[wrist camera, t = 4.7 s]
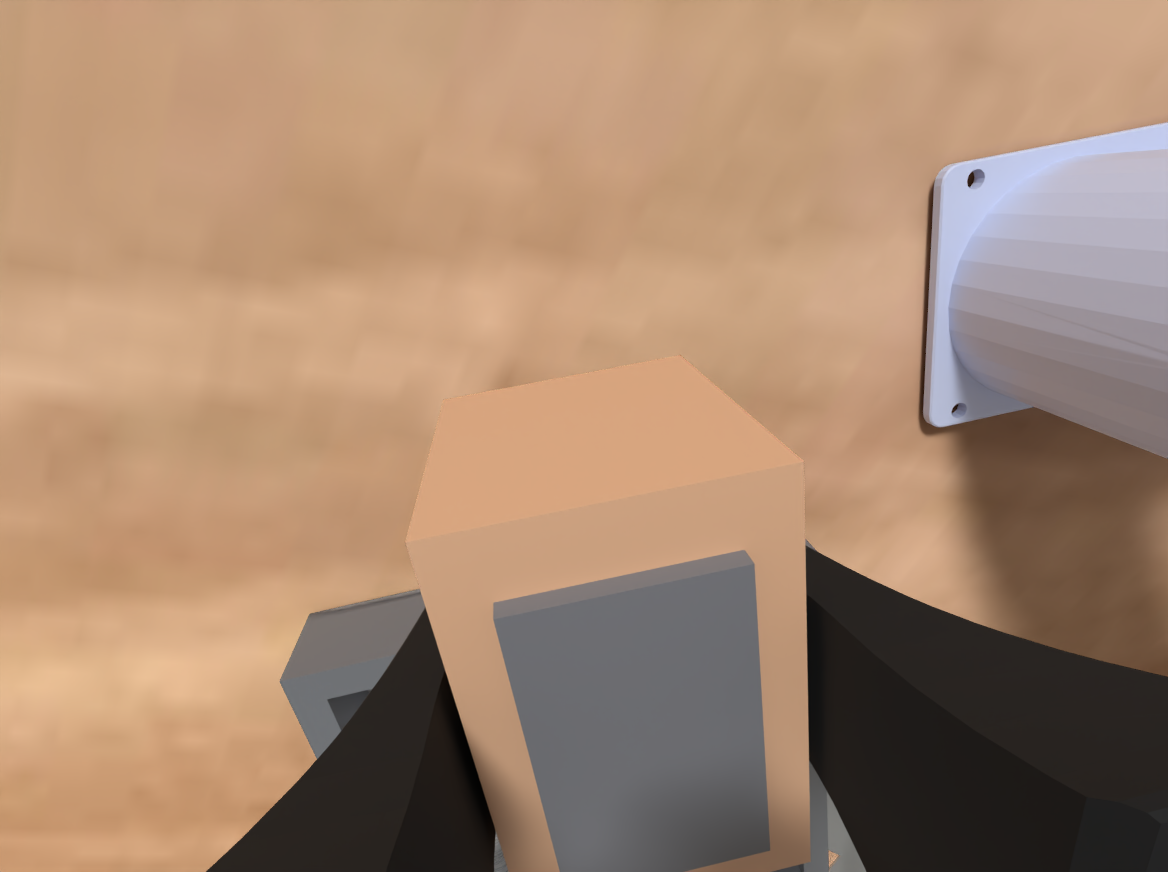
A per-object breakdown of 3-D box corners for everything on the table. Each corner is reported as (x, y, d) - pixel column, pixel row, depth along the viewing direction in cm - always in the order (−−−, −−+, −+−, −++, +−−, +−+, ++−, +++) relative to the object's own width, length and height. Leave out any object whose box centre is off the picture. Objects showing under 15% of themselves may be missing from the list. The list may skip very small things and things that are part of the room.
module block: (680, 354, 11) (817, 473, 7) (708, 644, 14) (820, 881, 9) (443, 399, 11) (401, 557, 6) (517, 686, 14) (528, 954, 9)
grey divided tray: (777, 508, 21) (821, 556, 18) (795, 818, 27) (829, 889, 24) (309, 613, 20) (279, 681, 17) (438, 910, 26) (431, 995, 23)
